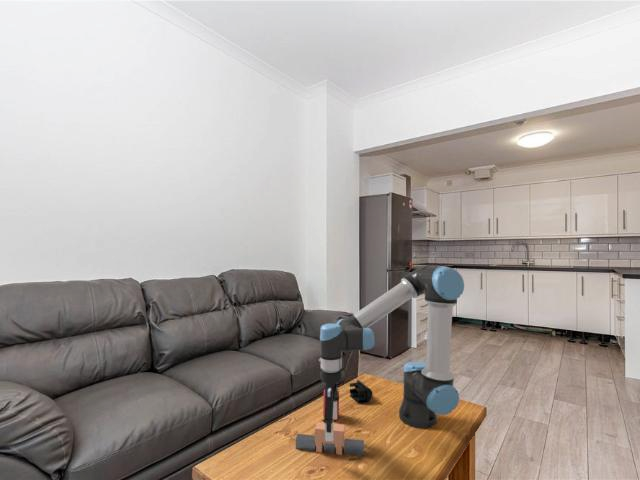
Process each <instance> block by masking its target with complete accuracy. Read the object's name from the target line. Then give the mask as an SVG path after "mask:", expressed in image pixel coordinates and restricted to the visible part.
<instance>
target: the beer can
mask: <svg viewBox="0 0 640 480" xmlns="http://www.w3.org/2000/svg"><path fill="white" fill-rule="evenodd" d="M337 394H338V395H337V397H339V398H340V391H339V387H337ZM336 401H337V419H338V418H339V416H340V399H339V400H336ZM322 404H323V409H322V410H323V411H322V412H323V413H322V414H323V415H322V416H323V418H324V417H325V389H324V390H323V403H322ZM335 420H336V419H333V421H335Z"/></svg>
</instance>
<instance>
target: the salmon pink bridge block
mask: <svg viewBox="0 0 640 480" xmlns="http://www.w3.org/2000/svg"><path fill="white" fill-rule="evenodd" d="M345 426H346V425H345V424H341V423H333V441H325V423H324V422H323V421H322V422H319V421H317V422H316V424H315V426H314V427H315V429H314V435H315V442H316V448H315V452H316V453H323V450H324V443H332V444H336V448H335V454H336V455H340V456H342V455H343V451H344V439H345Z"/></svg>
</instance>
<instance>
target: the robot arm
mask: <svg viewBox="0 0 640 480" xmlns="http://www.w3.org/2000/svg"><path fill="white" fill-rule="evenodd" d="M464 290H465V281H464V278H463V276H462V275H461V273H459V271H458V270H456V269H455V268H452V267H448V266H445V265H444V266H440V265H439V266H438V265H431V264H427V265H422V266H421V267H418V268H417V269H414V270H412V271H411V272H410V273H408V274H407V275H405V276H404V277H402V278H401V280H400V282H399V283H398V284H397V285H395V286H394V287H392V288H390V289H389V290H388V291H386V292H385V293H384V294H382V295H380V296H379V297H377V298H375V299H374V300H373V301H372V302H369V303H368V304H367V305H366V306H364V307H363V308H361V309H360V310H359V311H357V312H355V313H354V314H352V315H351V316H349V317H348V318H341V319H339V320H338V321H337V322H336V323H325V324H322V325H321V326H320V332H319V333H320V334H319V349H320V352H319V353H320V358H318V362H320V370H319V373H320V374H319V375H320V377H319V379H320V381H321V382H322V383H325V387H324V390H325V417H324V416H323V418H324V419H322V423H325V441H333V424H334V420H333V419H336V420H338V418H337V401H336V400H339V401H340V396H339V397H337V395H338V394H337V388H338V383H340V382H341V381H342V378H343V377H342V375H343V373H342V372H343V370H342V367H343V366H342V365H343V361H342V360H343V358H342V357H343V356H342V353H343V352H352V351H353V352H355V351H366V350H372V349H373V348H374V345H375V334H374V331H373V329H371V328H370V327H371V326H373V325H374V324H376V323H377V322H378V321H380V320H382V319H383V318H385V317H386V316H388V315H389V314H390V313H392V312H393V311H394V310H397V309H398V308H399V307H400V306H402V305H404V303H406V302H408V301H409V300H411V299H412V298H413V299H417V298H418V297H419V296H422V295H424V302H425V303H426V304H427V305H428V308H427V309H428V310H427V311H428V312H427V330H426V331H427V332H426V350H425V351H426V352H425V361H408V362H406V363H405V364H403V398H402V401H401V404H400V407H399V410H398V417H399V420H400V421H401V422H402V423H404V424H406V425H408V426H410V427H414V428H419V429H429V427H430V428H433V427H435V426H436V424H437V421H438V420H437V419H438V418H437V415H439V416H445V415H449V414H451V413H452V412H453V410H455V409H457V407H458V404H459V402H460V394H459V391H458V390H457V388H456V387H454V374H453V373H452V372H451V370H450V367H451V366H450V365H451V346H452V345H451V342H452V325H453V307H454V306H456V305H457V304H458V299H459V298H460V297H461V295H463V293H464ZM432 426H433V427H432Z"/></svg>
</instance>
